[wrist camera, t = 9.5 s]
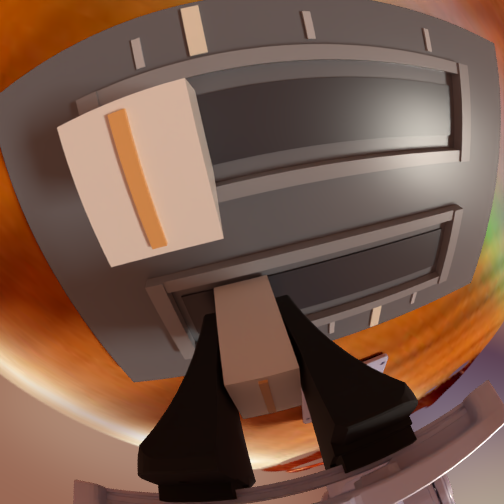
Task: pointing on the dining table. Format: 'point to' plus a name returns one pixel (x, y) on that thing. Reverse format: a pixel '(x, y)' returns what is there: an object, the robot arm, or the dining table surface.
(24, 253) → the dining table surface
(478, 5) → the dining table surface
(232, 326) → the fader
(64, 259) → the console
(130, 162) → the fader
